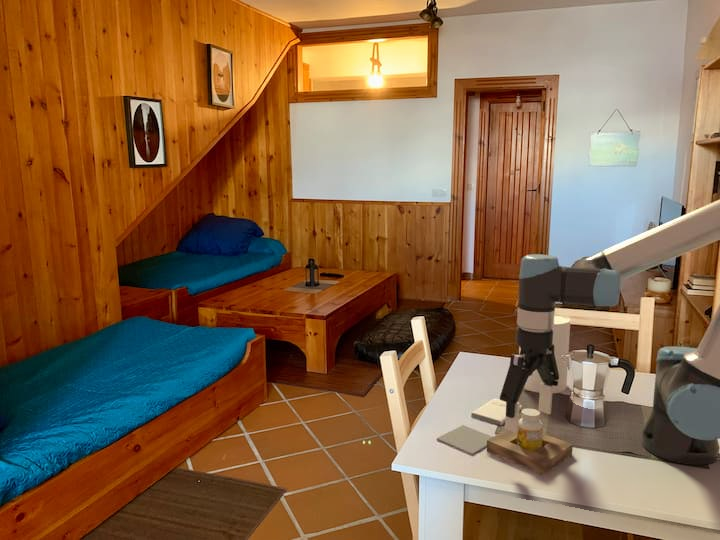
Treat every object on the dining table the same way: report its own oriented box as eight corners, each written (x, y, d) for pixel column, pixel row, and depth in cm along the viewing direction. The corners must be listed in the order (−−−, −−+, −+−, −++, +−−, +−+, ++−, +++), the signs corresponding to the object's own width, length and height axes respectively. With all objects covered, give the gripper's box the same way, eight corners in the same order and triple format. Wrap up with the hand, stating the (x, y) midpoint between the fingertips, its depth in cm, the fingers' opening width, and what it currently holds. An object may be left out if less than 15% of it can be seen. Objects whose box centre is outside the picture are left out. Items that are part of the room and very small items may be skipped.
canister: (573, 393, 158) (577, 324, 155) (524, 393, 158) (527, 324, 155) (557, 376, 171) (561, 312, 168) (512, 376, 172) (515, 312, 168)
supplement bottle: (544, 459, 122) (546, 417, 121) (518, 458, 123) (520, 416, 121) (538, 447, 127) (540, 407, 126) (514, 446, 128) (516, 406, 126)
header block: (572, 454, 124) (572, 444, 124) (543, 474, 116) (544, 463, 116) (516, 433, 134) (516, 423, 134) (486, 450, 126) (486, 440, 126)
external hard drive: (471, 418, 144) (493, 402, 153) (500, 427, 139) (522, 410, 148) (471, 412, 144) (493, 397, 153) (501, 421, 138) (522, 404, 148)
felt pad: (498, 440, 131) (498, 438, 131) (472, 455, 124) (472, 453, 124) (462, 426, 138) (463, 425, 138) (436, 439, 131) (436, 438, 131)
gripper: (548, 314, 131) (542, 400, 135) (485, 334, 114) (480, 432, 118) (579, 320, 126) (572, 410, 130) (518, 343, 109) (512, 445, 113)
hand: (528, 421), depth 124 cm, fingers open, 13 cm apart
